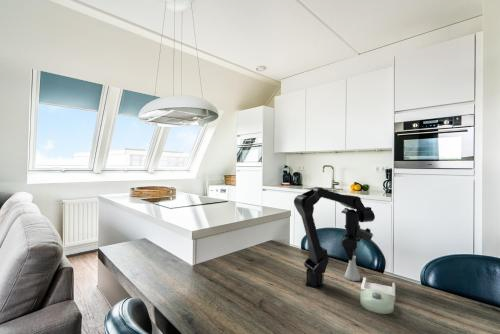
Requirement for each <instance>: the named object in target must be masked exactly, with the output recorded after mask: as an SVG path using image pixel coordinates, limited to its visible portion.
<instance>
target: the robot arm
mask: <svg viewBox="0 0 500 334" xmlns="http://www.w3.org/2000/svg"><path fill="white" fill-rule="evenodd" d="M321 198H323V199H326V200H329V201H333V202H337V203H339V204H341V205H342V206H344V209H343V210H341V214H345V224H344V228H345V233H344V238H342V240H341V246H342V248H343V249H344V251H345V253H346V255H347V258H348V261H349V260H351V261H352V258H353V256H354V255H355V254H356V249H358V247H359V242H360V241H361V240H363V241H366V242H367V243H371V240H372V238H373V237H374V234H373V233H372V232H371V228H368V227H367V228H364V229H363V228H361V225H360V223H369V222H370V223H371V222H374V221H375V217H376V215H375V212H374V211H373V210H372V207H370V206H365V205H364V204H363V201H362V198H361V197H360V196H357V195H351V194H342V193H338V192H335V191H331V190H328V189H324V188H323V187H318V186H316V187H313V188H312V189H309V190H308V191H305V192H303V193H301V194H298V195H296V196H295V197H294V199H293V204H294V207H295V208H296V211H297V212H298V214H299V215H300V216H301V220H302V224H303V228H304V232H305V235H306V239H307V241H308V242H307V243H308V247H309V248H308V251H307V253H308V257H307V258H306V259H305V261H304V262H303V265H304V267H305V268H306V271H305V272H306V282H305V283H304V286H307V287H311V288H315V289H321V288H322V286H323V285H324V283H325V279H324V278H325V276H324V275H325V273H326V270H327V266H328V265H329V259H330V257H329V253H328V250H327V248H325V247H322V245H321V242H320V238H319V234H318V231H317V227H316V224H315V223H316V222H315V219H314V215H313V214H314V211H315V207H314V205H316V204H318V202H319V200H321Z"/></svg>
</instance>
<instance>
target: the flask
mask: <svg viewBox="0 0 500 334" xmlns="http://www.w3.org/2000/svg"><path fill="white" fill-rule="evenodd" d="M356 259H357V256H356V255H353V258H352V261H351V260H349V259H348V265H347V268H346V271H345V273H344V275H343V277H344V278H345V280H347V281H353V282H359V281H360V282H361V275H360V272H359V270H358V266H357V263H356Z"/></svg>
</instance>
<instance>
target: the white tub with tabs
mask: <svg viewBox="0 0 500 334" xmlns="http://www.w3.org/2000/svg"><path fill="white" fill-rule="evenodd" d="M361 282H362V283H361V286H360V296H359V297H360V302H359V303H360V305H361V306H362V307H363V308H364V309H365V310H368V311H369V312H372V313H376V314H380V315H389V314H391V313H393V312H394V311H395V303H396V282H392V284H391V286H390V285H384V284H379V283H374V282H369V281H367V277H366V276H363V278H362V281H361Z"/></svg>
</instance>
